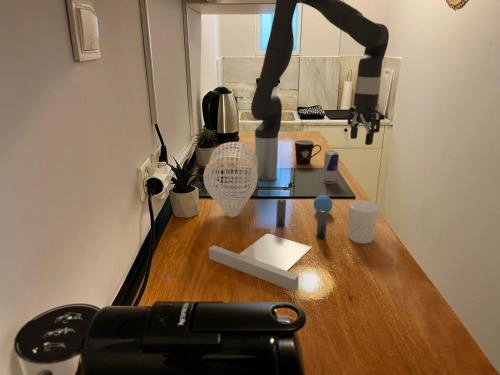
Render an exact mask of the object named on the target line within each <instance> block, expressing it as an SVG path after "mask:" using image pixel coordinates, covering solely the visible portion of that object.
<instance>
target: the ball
mask: <svg viewBox="0 0 500 375" xmlns="http://www.w3.org/2000/svg"><path fill="white" fill-rule="evenodd" d="M313 208H314V210H315V211H316V212H317V213H318V211H319V210H327V211H328V213H329V212H331V210H332V209H333V201H332V199H331V198H330V197H329V196H328V195H325V194H321V195H318V196H317V197H316V198H314V200H313Z"/></svg>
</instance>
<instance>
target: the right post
mask: <svg viewBox="0 0 500 375" xmlns="http://www.w3.org/2000/svg"><path fill="white" fill-rule="evenodd" d="M328 215H329V212H328V211H327V210H319V211H318V212H317V222H316V223H317V224H316V232H315V233H316V239H317V240H326V236H327V225H328Z"/></svg>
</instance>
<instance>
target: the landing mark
mask: <svg viewBox="0 0 500 375" xmlns="http://www.w3.org/2000/svg"><path fill="white" fill-rule="evenodd" d="M312 247H313V246H310V245H306V244H303V243H300V242H297V241H292V240H290V239H286V238H283V237H280V236H277V235H273V234H269V233H266V234H264V235H263V236H262V237H259V239H258V240H256V241H255V242H253V243H252V244H251V245H249V246H248V247H246V248H245V249H244V250H242V251H241V252H239V254H240V255H243V256H246V257H248V258H251V259H254V260H257V261H259V262H262V263H265V264H268V265H271V266H273V267H276V268H279V269H282V270H285V271H287V272H289V270H290V269H292V268H293V266H294V265H296V263H298V261H300V259H302V258H303V257H304V256H305V255H306V254H307V253H308V252H309V251H311V249H312Z"/></svg>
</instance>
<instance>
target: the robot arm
mask: <svg viewBox="0 0 500 375" xmlns="http://www.w3.org/2000/svg"><path fill="white" fill-rule="evenodd" d="M297 4H304V5H306V6H308V7H310V8H313V9H315V10H317V11H318V12H319V13H320V14H321V15H322V16H323V17H324V18H325V19H326V20H327V21H328V22H329V23H330V24H332V25H333V26H335V28H337V29H339V30H340V31H342V32H343V33H346V34H347V35H348V36H349V37H351V39H353V40H354V41H355V42H356V43H358V44H359V45H361V46H362V47H363V48H364V53H363V56H362V57H361V58H360V59H359V61H358V66H357V74H356V75H357V76H356V80H355V84H354V85H355V86H354V94H353V95H354V96H353V104H352V105H353V106H350V107H349V110H348V117H347V125H349V128H350V134H349V135H350V137H349V138H350V139H352V140H357V138H358V134H359V133H358V131H359V128H358V127H359V125H360V124H362V125H363V127H364V128H365V130H366V134H365V141H364V142H365V143H364V145H366V146H371V145H372V144H373V142H374V134H375V133H379V132H380V128H381V127H380V126H381V120H382V119H381V118H382V117H381V116H382V114H381V113H380V112H378V113H377V112H375V109H376V108H377V107H378V106H379V105H378V104H379V103H378V102H379V97H380V90H381V75H382V67H383V60H384V58H385V55H386V51H387V48H388V46H389V38H390V33H389V30H388V27H387V26H386V25H385V24H383V23H380V22H379V23H377V22H374V21H372V20H371V19H368V18H367V17H365V16H364V15H363V13H362V12H360V11H359V10H358V9H357V8H355V7H353V6H351V5H350V4H348V3H346V2H344V0H275V5H274V6H275V8H274V14H273V19H272V20H273V21H272V22H271V23H272V25H271V27H270V28H271V29H270V32H269V38H268V41H267V45H266V48H265V49H266V50H265V54H264V57H263V58H264V59H263V64H262V66H261V72H260V75H259V79H258V81H257V85H256V88H255V92H254V94H253V97H252V100H251V104H250V105H251V106H250V110H251V111H250V112H251V115H252V117H253V118H254V119H255V120H256V121H261V124H260V125H259V126H258V127H256V128H255V131H254V153H255V154H256V156H257V161H258V168H257V174H258V180H259V181H272V180H276V179H277V176H278V154H279V151H278V150H279V149H278V148H279V146H278V145H279V132H280V130H281V126H282V124H281V123H282V114H283V106H282V105H283V104H282V101H281V99H280V97H279V96H278V95H276V94H273V91H274V89H275V87H276V84H277V83H278V81H279V80H280V79H281V77H282V76H283V75H284V73H285V71H286V70H287V68H288V67H289V65H290V62H291V58H292V55H293V51H294V48H295V47H294V45H295V40H294V29H293V19H294V15H295V10H296V8H297ZM254 156H255V155H254ZM254 159H255V158H254ZM253 161H254V160H253ZM255 166H256V165H255Z"/></svg>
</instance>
